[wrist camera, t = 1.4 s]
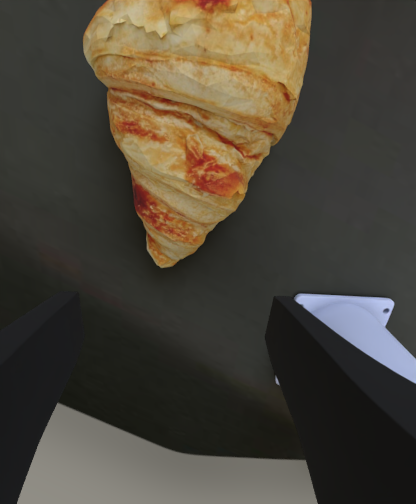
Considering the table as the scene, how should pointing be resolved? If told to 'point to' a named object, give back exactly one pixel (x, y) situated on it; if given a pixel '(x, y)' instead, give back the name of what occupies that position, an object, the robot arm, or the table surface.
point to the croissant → (196, 103)
